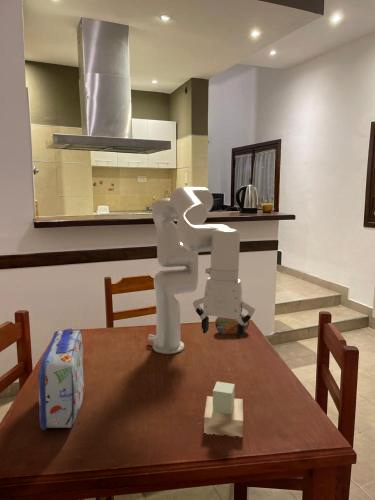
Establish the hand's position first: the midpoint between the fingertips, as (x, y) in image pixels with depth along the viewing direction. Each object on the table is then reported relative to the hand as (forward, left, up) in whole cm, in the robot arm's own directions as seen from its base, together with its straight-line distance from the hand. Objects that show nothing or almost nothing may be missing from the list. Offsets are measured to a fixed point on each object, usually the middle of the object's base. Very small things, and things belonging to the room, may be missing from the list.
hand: (222, 334), depth 103 cm
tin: (-11, +60, -24) cm, 65 cm away
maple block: (+2, -5, -24) cm, 24 cm away
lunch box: (-43, -14, -24) cm, 51 cm away
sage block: (+2, -5, -19) cm, 19 cm away
